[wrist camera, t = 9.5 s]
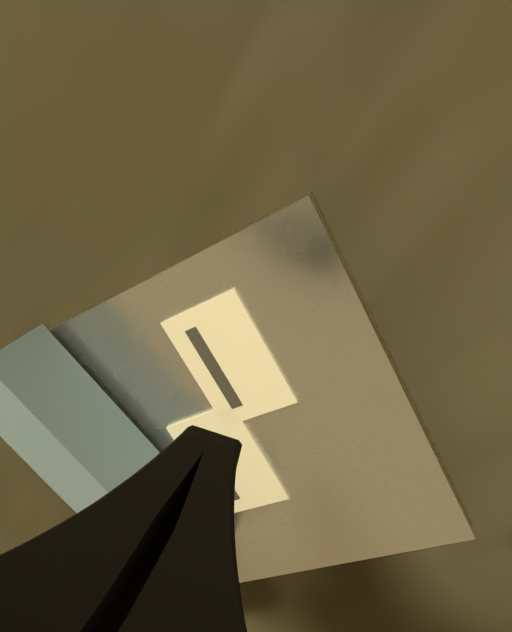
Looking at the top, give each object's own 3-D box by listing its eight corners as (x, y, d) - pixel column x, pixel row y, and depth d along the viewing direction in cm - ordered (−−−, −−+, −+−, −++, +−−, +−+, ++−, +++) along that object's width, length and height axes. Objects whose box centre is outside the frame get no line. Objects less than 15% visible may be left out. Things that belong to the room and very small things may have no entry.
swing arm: (266, 552, 24) (246, 637, 20) (212, 573, 26) (183, 656, 22) (52, 315, 21) (-22, 360, 17) (6, 355, 23) (-71, 405, 19)
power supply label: (298, 399, 21) (297, 402, 21) (225, 424, 22) (224, 427, 22) (235, 287, 20) (233, 289, 19) (162, 321, 21) (160, 323, 21)
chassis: (471, 522, 23) (497, 621, 18) (221, 572, 28) (194, 657, 24) (311, 191, 18) (293, 215, 14) (52, 327, 24) (-22, 375, 19)
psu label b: (290, 495, 23) (289, 499, 23) (225, 512, 25) (223, 516, 25) (232, 402, 22) (231, 405, 22) (167, 425, 23) (165, 428, 23)
